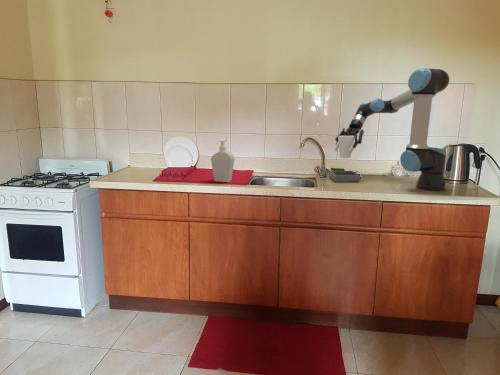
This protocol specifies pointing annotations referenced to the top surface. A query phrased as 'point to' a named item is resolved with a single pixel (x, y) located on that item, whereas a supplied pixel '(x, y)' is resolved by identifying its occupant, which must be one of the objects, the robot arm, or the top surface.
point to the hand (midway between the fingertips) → (342, 150)
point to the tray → (344, 176)
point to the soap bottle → (222, 164)
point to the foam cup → (345, 145)
